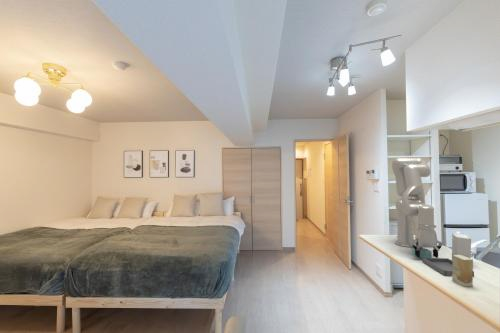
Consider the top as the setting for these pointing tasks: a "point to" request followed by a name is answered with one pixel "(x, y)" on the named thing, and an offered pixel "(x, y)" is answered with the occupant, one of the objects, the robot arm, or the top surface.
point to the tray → (440, 265)
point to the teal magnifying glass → (423, 253)
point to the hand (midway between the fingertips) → (426, 256)
